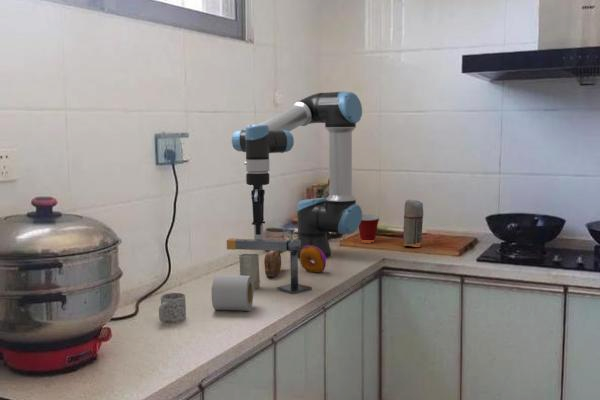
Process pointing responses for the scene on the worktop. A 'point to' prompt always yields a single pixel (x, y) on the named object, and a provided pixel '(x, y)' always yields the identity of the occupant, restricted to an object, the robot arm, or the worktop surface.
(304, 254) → the donut
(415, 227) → the grey thermos bottle
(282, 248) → the bar
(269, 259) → the tin
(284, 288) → the post
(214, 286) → the toilet paper
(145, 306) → the worktop surface
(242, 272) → the box
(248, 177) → the robot arm
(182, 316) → the mug
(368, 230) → the plastic cup
